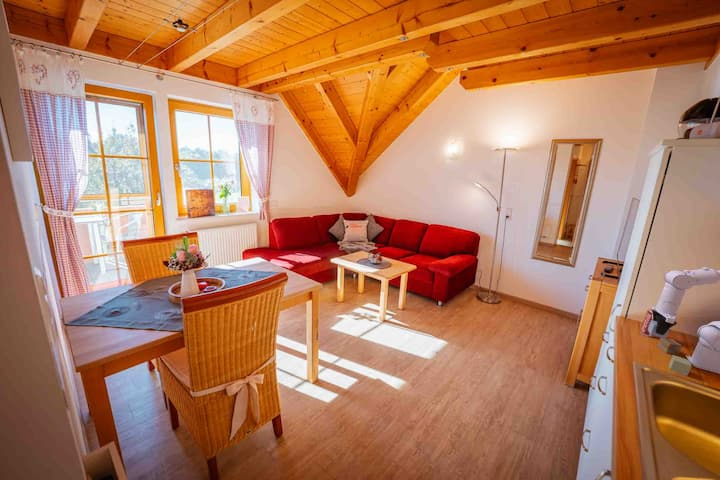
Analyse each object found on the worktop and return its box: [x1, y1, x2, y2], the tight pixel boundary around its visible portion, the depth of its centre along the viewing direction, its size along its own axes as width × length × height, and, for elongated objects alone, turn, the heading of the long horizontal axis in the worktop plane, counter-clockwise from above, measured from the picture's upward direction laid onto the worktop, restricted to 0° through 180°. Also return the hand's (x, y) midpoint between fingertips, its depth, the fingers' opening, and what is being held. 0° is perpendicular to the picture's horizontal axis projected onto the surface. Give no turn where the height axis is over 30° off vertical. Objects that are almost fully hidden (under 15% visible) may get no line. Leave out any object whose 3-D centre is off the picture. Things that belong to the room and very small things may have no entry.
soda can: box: [639, 308, 655, 338], centre depth 132 cm, size 5×5×12 cm
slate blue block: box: [648, 320, 671, 339], centre depth 116 cm, size 4×4×4 cm
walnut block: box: [656, 337, 683, 356], centre depth 122 cm, size 4×4×4 cm
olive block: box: [668, 354, 692, 377], centre depth 110 cm, size 4×4×4 cm
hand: (657, 331), depth 117 cm, fingers closed on slate blue block, 4 cm apart
